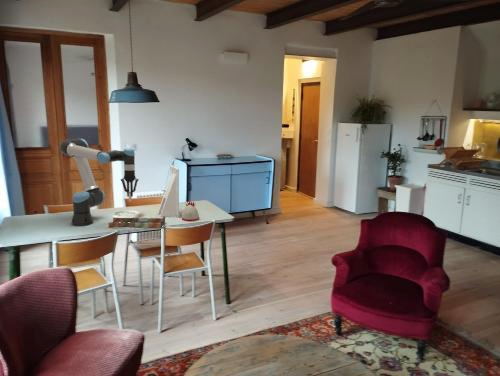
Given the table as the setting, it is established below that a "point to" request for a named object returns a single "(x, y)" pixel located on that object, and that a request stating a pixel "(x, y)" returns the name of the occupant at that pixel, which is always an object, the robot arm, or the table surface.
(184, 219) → the beige rounded dome
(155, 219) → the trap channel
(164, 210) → the white bracket plate
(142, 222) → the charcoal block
